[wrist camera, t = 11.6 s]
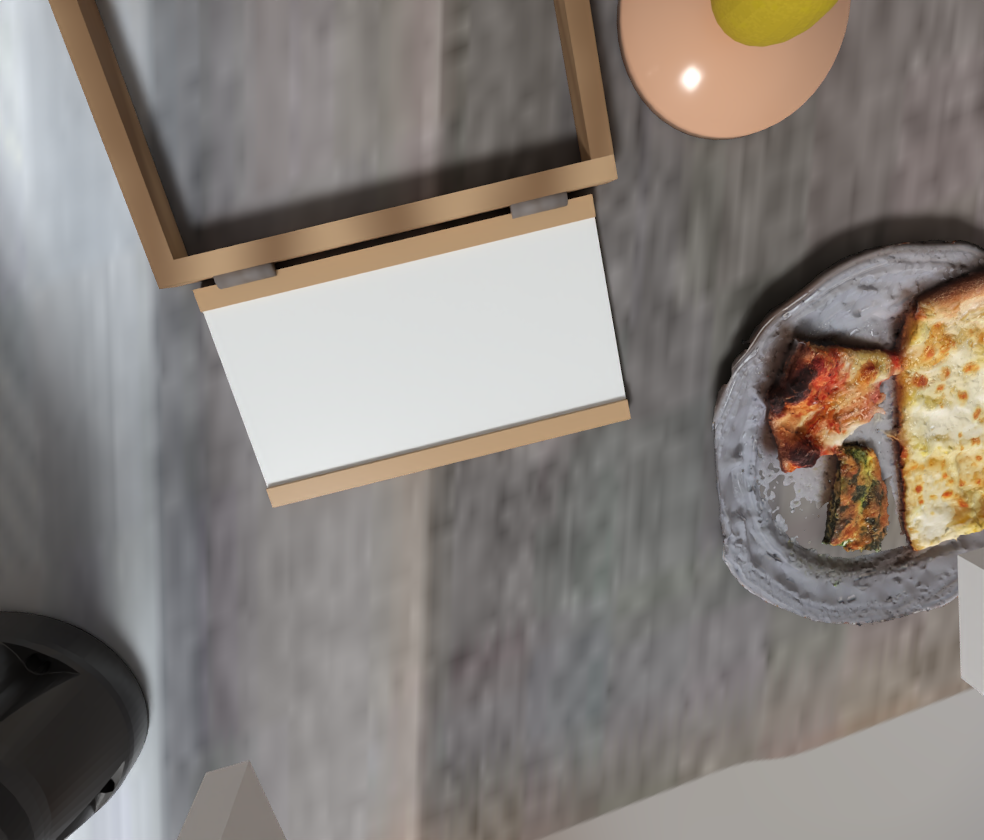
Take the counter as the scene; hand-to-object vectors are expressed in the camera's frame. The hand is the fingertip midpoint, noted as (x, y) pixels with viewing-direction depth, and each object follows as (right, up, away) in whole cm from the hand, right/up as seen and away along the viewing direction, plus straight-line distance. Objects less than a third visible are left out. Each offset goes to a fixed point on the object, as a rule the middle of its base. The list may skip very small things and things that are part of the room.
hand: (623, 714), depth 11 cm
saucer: (+10, +27, +20) cm, 35 cm away
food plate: (+23, +4, +28) cm, 36 cm away
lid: (-6, +9, +24) cm, 26 cm away
